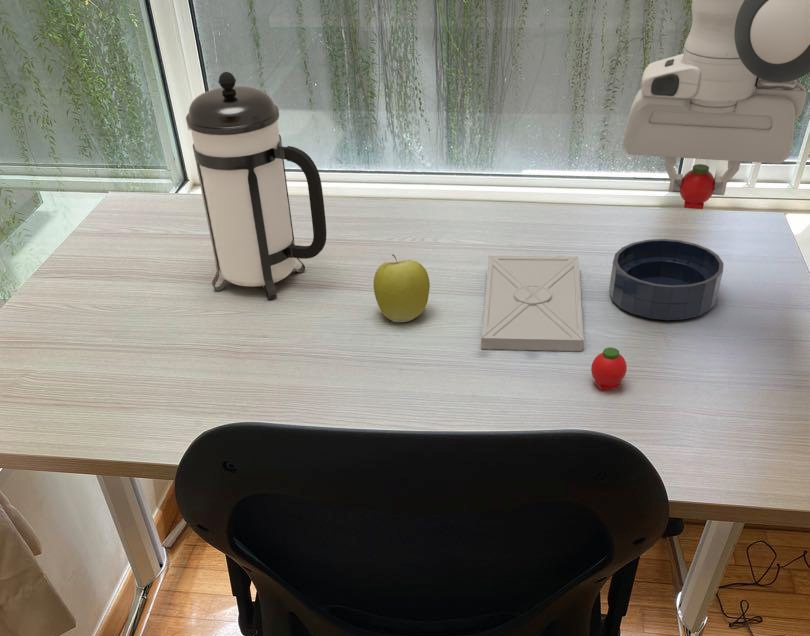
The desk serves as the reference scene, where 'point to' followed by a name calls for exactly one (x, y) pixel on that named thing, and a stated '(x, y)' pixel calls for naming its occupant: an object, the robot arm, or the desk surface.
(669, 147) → the robot arm
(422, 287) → the apple
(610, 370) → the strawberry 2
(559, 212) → the desk surface
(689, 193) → the toy tomato
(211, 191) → the coffee press
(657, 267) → the bowl
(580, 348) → the envelope
